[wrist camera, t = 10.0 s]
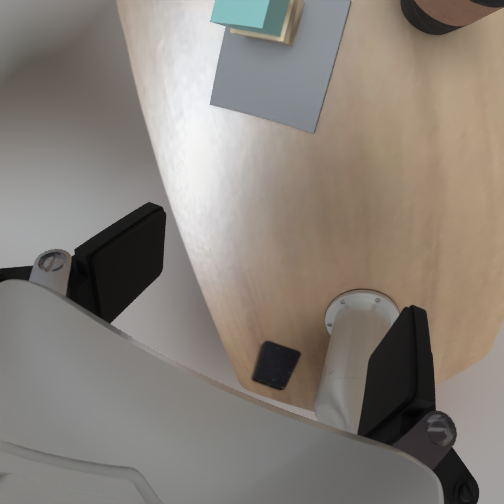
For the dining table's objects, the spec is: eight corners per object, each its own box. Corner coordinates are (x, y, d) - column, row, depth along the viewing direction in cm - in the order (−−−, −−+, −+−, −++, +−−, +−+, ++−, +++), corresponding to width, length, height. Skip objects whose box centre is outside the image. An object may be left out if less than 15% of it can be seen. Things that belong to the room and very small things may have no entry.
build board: (314, 132, 36) (313, 133, 35) (213, 103, 38) (209, 104, 37) (351, 1, 25) (350, -1, 24) (240, -18, 27) (237, -20, 27)
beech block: (293, 46, 30) (283, 41, 26) (246, 37, 31) (229, 32, 27) (304, 3, 26) (295, -8, 22) (256, -5, 27) (241, -15, 23)
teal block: (280, 36, 26) (262, 28, 21) (235, 29, 27) (210, 21, 22) (290, -4, 23) (274, -20, 18) (245, -10, 24) (221, -25, 19)
